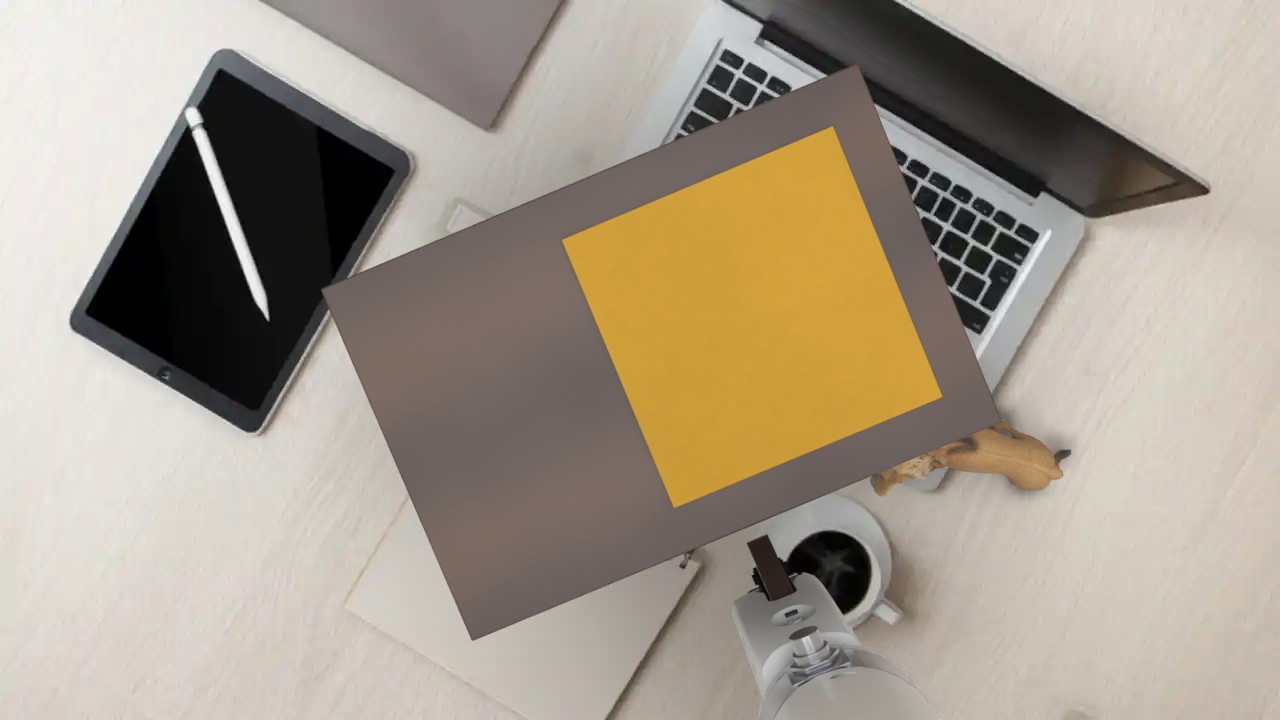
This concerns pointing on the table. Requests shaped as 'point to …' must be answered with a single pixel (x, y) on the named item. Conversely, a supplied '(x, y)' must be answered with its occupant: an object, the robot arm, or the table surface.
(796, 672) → the robot arm
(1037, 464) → the lion figurine
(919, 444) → the walnut stand
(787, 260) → the felt cloth
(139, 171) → the table surface
